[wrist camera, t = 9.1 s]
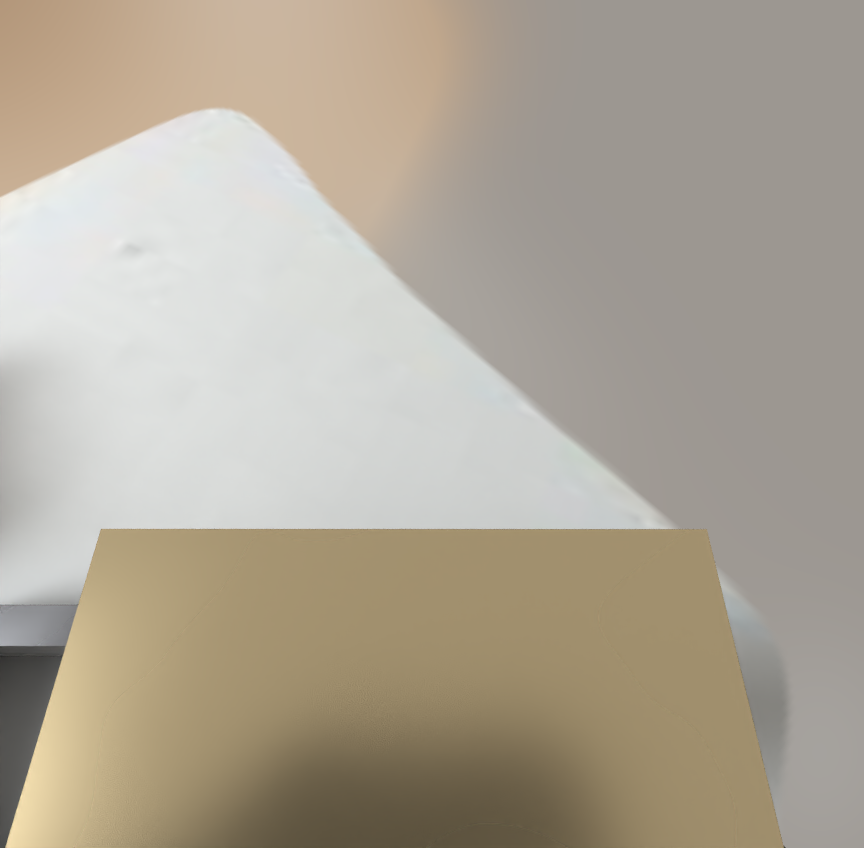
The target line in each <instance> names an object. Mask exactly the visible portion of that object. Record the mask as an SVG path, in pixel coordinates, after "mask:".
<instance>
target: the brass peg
mask: <svg viewBox="0 0 864 848" xmlns="http://www.w3.org/2000/svg"><path fill="white" fill-rule="evenodd" d="M5 848H784V847H783V842H782V838H781V834H780V830H779V826H778V822H777V818H776V813H775V809H774V805H773V801H772V797H771V793H770V789H769V785H768V780H767V776H766V772H765V768H764V764H763V760H762V756H761V751H760V747H759V743H758V739H757V735H756V731H755V727H754V723H753V718H752V714H751V710H750V706H749V702H748V698H747V694H746V689H745V685H744V681H743V677H742V673H741V669H740V665H739V661H738V656H737V652H736V648H735V644H734V640H733V636H732V632H731V627H730V623H729V619H728V615H727V611H726V607H725V603H724V599H723V594H722V590H721V586H720V582H719V578H718V574H717V570H716V565H715V561H714V557H713V553H712V549H711V545H710V541H709V537H708V532H707V529H703V530H702V529H696V530H695V529H101V531H100V534H99V538H98V541H97V544H96V548H95V551H94V554H93V557H92V561H91V564H90V567H89V571H88V574H87V577H86V581H85V584H84V587H83V591H82V594H81V597H80V601H79V604H78V607H77V611H76V614H75V617H74V621H73V624H72V627H71V631H70V634H69V637H68V641H67V644H66V647H65V651H64V654H63V657H62V661H61V664H60V667H59V671H58V674H57V677H56V681H55V684H54V687H53V691H52V694H51V697H50V701H49V704H48V707H47V711H46V714H45V717H44V721H43V724H42V727H41V730H40V734H39V737H38V740H37V744H36V747H35V750H34V754H33V757H32V760H31V764H30V767H29V770H28V774H27V777H26V780H25V784H24V787H23V790H22V794H21V797H20V800H19V804H18V807H17V810H16V814H15V817H14V820H13V824H12V827H11V830H10V834H9V837H8V840H7V844H6V847H5Z"/></svg>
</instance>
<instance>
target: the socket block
mask: <svg viewBox="0 0 864 848" xmlns="http://www.w3.org/2000/svg"><path fill="white" fill-rule="evenodd" d="M77 607H78V605H0V656H63V654H64V651H65V647H66V644H67V641H68V637H69V634H70V631H71V627H72V624H73V621H74V617H75V614H76V611H77Z"/></svg>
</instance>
